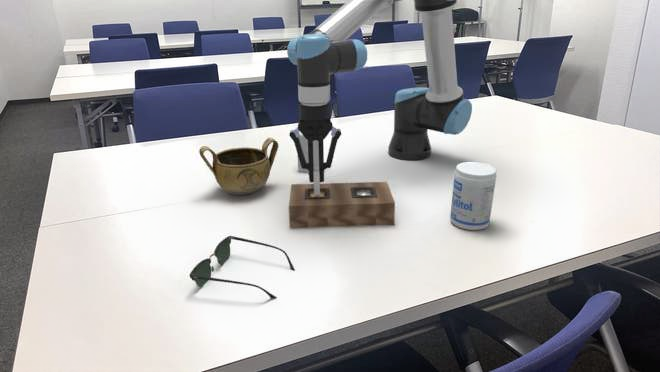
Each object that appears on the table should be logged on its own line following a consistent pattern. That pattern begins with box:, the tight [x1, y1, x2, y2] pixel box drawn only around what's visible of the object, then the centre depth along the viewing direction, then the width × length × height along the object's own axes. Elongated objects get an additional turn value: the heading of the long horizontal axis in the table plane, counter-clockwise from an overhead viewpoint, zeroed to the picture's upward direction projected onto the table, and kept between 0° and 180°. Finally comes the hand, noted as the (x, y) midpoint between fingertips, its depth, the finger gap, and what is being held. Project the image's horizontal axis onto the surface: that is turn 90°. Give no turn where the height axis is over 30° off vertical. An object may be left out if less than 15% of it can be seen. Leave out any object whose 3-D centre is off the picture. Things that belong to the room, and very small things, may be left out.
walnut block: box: [288, 181, 396, 229], centre depth 123 cm, size 26×14×6 cm, turn 92°
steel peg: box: [356, 190, 372, 196], centre depth 123 cm, size 4×4×6 cm
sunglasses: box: [189, 235, 296, 299], centre depth 97 cm, size 16×17×5 cm
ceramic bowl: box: [198, 137, 279, 196], centre depth 138 cm, size 22×17×15 cm
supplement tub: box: [449, 161, 497, 231], centre depth 116 cm, size 10×10×15 cm
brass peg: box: [310, 191, 325, 197], centre depth 123 cm, size 4×4×6 cm
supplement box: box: [297, 132, 325, 173], centre depth 154 cm, size 7×7×13 cm
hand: (317, 193), depth 122 cm, fingers closed
